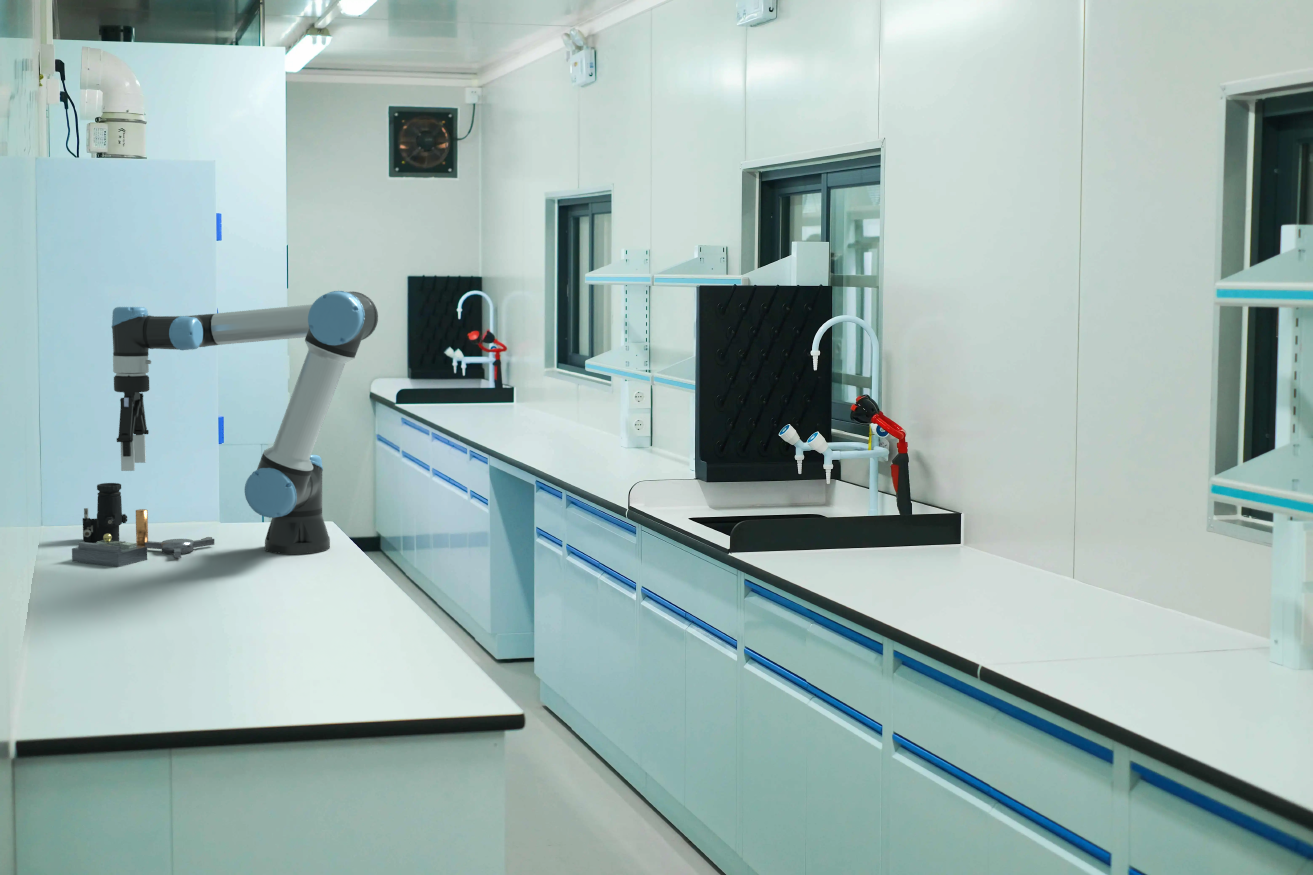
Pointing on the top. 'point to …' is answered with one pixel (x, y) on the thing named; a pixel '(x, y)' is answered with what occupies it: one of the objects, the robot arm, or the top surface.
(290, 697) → the top surface
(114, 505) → the scope
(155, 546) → the capstan
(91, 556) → the level stand
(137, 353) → the robot arm
